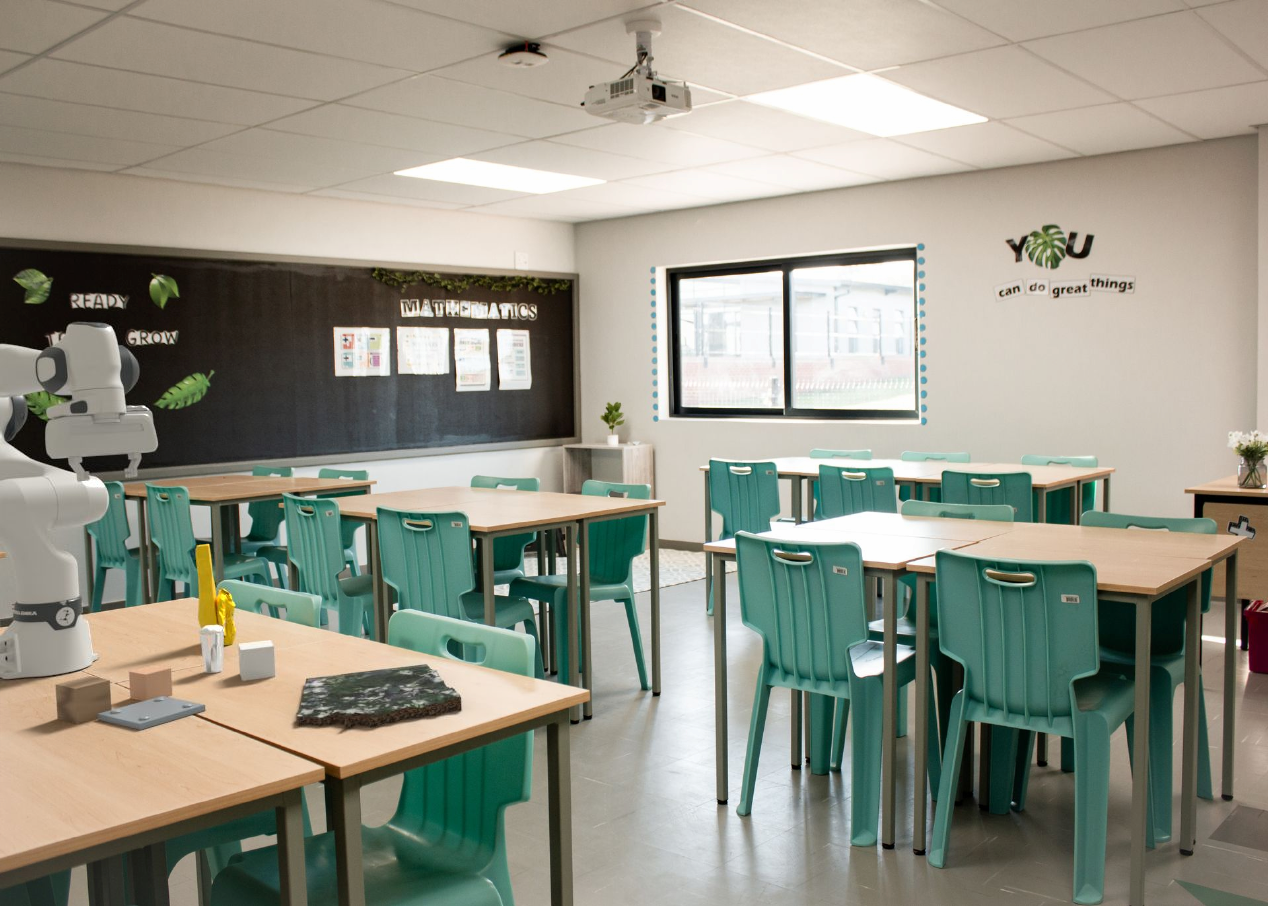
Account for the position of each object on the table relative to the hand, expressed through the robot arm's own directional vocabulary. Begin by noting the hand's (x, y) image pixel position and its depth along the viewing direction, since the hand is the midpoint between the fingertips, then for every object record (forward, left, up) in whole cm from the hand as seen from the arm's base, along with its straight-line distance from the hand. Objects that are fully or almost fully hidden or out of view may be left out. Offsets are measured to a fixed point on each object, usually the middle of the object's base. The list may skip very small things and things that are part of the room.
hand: (108, 479), depth 201 cm
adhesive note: (+20, +16, -39) cm, 47 cm away
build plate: (+26, -10, -39) cm, 48 cm away
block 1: (+16, -16, -39) cm, 45 cm away
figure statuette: (-11, +30, -39) cm, 50 cm away
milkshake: (+10, +14, -39) cm, 43 cm away
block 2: (+15, -3, -39) cm, 42 cm away
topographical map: (+53, +14, -40) cm, 67 cm away
